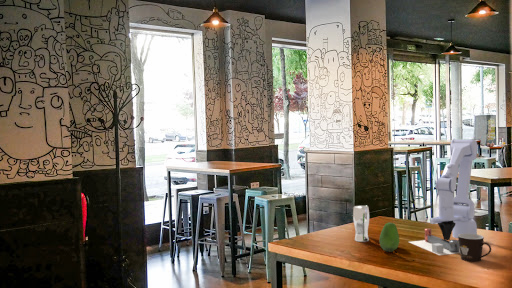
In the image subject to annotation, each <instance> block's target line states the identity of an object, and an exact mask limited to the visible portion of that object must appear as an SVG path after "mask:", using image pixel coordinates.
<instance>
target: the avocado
mask: <svg viewBox="0 0 512 288" xmlns="http://www.w3.org/2000/svg"><path fill="white" fill-rule="evenodd" d="M378 242H379V246H380V247H381V250H383V251H385V252H387V253H393V252H396V251H395V250H397V249H398V247H399V245H400V235H399V230H398V229H397V225H396V224H395V223H393V222H386V223H385V224H384V225H383V227H382V229H381V232H380V234H379V241H378Z"/></svg>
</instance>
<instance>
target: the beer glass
mask: <svg viewBox="0 0 512 288" xmlns="http://www.w3.org/2000/svg"><path fill="white" fill-rule="evenodd" d="M352 211H353V212H352V215H353V217H352V218H353V219H352V220H353V224H354V229H355V235H354V236H355V237H354V241H356V242H359V243H366V242H369V235H368V233H369V232H368V231H369V224H370V210H369V206H368V205H354V206H353V210H352Z"/></svg>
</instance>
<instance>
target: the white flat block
mask: <svg viewBox="0 0 512 288" xmlns="http://www.w3.org/2000/svg"><path fill="white" fill-rule="evenodd" d="M408 243H410V244H412V245H414V246H417V247H419V248H421V249H423V250H425V251H428V252H430V253H433V254H436V255H438V256H445V255H446V256H447V255H455V254H460V252H450V249H447V248H445V247H443V245H442V244H440V243H435V244H434V243H432V242H427V241H425V239H422V240H414V241H411V240H410V241H408Z"/></svg>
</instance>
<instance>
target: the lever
mask: <svg viewBox="0 0 512 288" xmlns="http://www.w3.org/2000/svg"><path fill="white" fill-rule="evenodd" d="M424 240H425V241H427V242H432V243H434V244H435V243H440V244H442V245H443V247H445V248H447V249H450V252H460V247H459V240H458V239H450V240H445V239H444V238H441V237H439V236H436V235H434V234H433V235H432V228H429V227H428V228H424Z"/></svg>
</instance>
